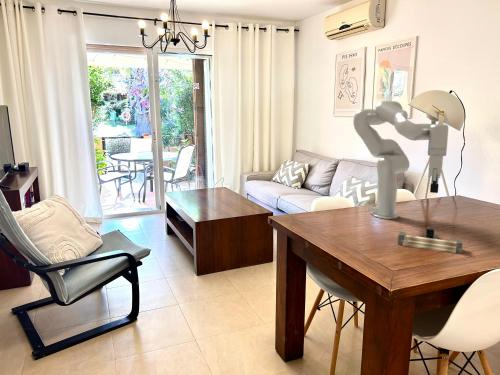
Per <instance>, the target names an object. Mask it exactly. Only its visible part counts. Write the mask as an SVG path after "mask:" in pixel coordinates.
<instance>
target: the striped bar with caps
mask: <svg viewBox="0 0 500 375" xmlns="http://www.w3.org/2000/svg"><path fill="white" fill-rule="evenodd" d="M463 244H464V243H463V239H459V238H456V241H452V240H446V239H438V238H437V239H432V238H424V237H423V236H415V235H408V234H406V232H405V231H399V233H398V237H397V245H401V246H403V247H411V248H417V249H425V250H430V251H431V250H432V251H438V252H444V253H445V252H446V253H449V254H450V253H451V254H452V253H453V254H462V253H463Z"/></svg>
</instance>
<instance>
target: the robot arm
mask: <svg viewBox="0 0 500 375" xmlns="http://www.w3.org/2000/svg"><path fill="white" fill-rule="evenodd" d="M408 118H409V114H408V112H407V111H406V110H404V109H403V106H402V104H401V103H400V102H398V101H395V100H393V101H392V100H384V101H379V102H378V103H376V106H375V107H374V108H363V109H359V110H358V111H357V112H355V114H354V116H353V127H354V131H355V132H356V133H357V135H358V136H359V138H361V139H362V142H363V143H364V145H365V147H366V148H367V150H368V151H369V153H370V154H371V155H372V156H373V157H374V158H377V159H378V158H379V159H378V160H377V162H376V172H377V192H376V193H377V194H376V206H370V205H369V206H368V207H367V210H368V211H370V212H372V216H373V217H375V218H379V219H385V220H387V219H388V220H392V219H398V218H399V213H397V211H396V209H397V208H396V207H397V197H398V196H397V193H398V180H397V177H396V174H403V173H405V172H407V171H408V170H409V168H410V160H409V158H408V156H407V155H406V153H405V152H404V150H403V149H402V147H401V146H400V145H399V143H398V142H397V141H396V140H394V139H391V138H387V139H386V138H383V137H381V135H380V134H379V133H378V131H377V130H376V129H375V128H374V127H373V126H379V125H383V124H385V123H388V124H390V125H392V126H393V127H394V129H395V130H396V132H397V133H398V134H399V135H401V136H402V137H404V138H406V139H407V140H410V141H413V142H414V141H415V142H416V141H428V142H427V144H428V147H427V156H429V162H428V173H427V174H428V175H427V177H428V179H430V178H431V182H430V186H429V187H430V189H429V190H430V191H429V193H433V194H438V193H439V179H440V178H441V175H442V169H443V162H444V157H446V156H447V150H448V140H449V139H448V137H449V126H448V124H446V123H445V124H444V123H442V124H437V123H436V124H435V123H434V124H432V123H415V122H412V121H410V120H409V119H408Z"/></svg>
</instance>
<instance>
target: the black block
mask: <svg viewBox="0 0 500 375" xmlns="http://www.w3.org/2000/svg"><path fill="white" fill-rule="evenodd" d="M422 237H424V238H432V239H438V234H435V227H432V226H427V227H426V232H424V233H423V235H422Z"/></svg>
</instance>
